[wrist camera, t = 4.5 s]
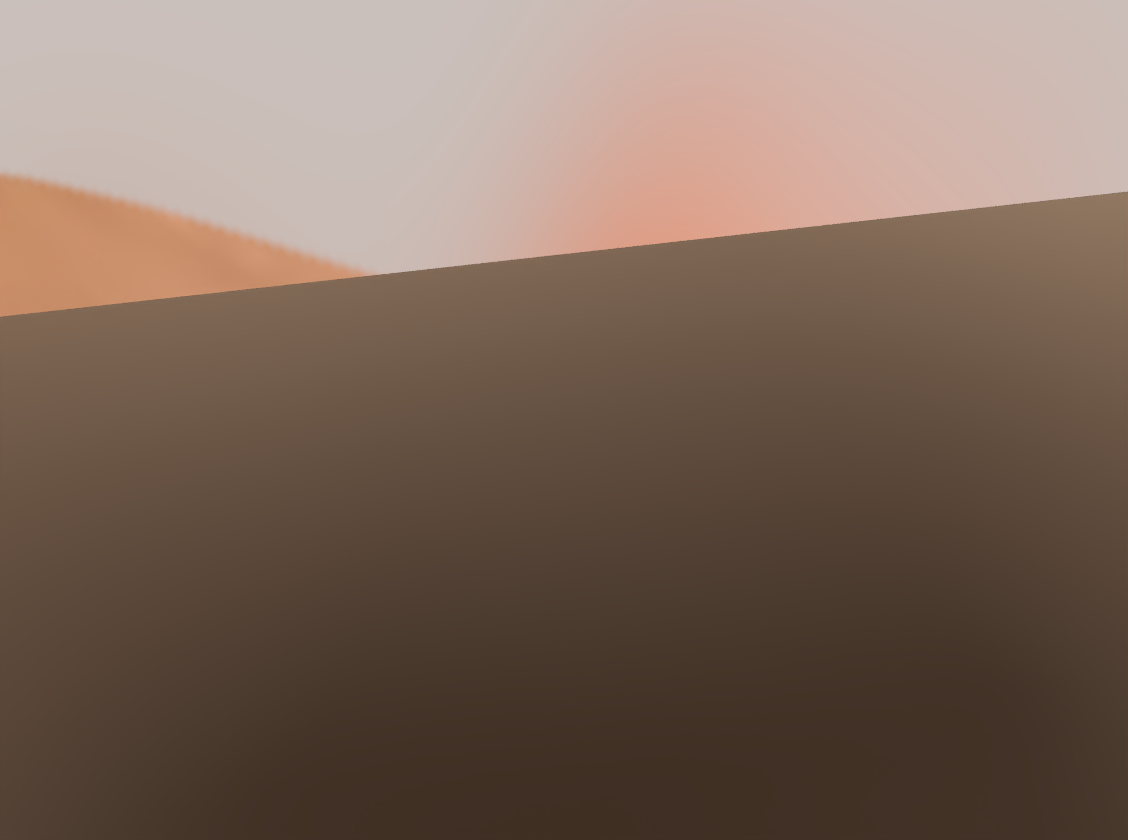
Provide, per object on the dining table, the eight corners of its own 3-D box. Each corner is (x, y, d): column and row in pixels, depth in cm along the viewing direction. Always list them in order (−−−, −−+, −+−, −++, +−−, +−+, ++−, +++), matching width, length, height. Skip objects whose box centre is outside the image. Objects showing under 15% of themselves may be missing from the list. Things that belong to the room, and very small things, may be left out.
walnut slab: (787, 858, 14) (1807, 1142, 2) (435, 905, 14) (-364, 1469, 2) (743, 649, 16) (1242, 180, 4) (425, 690, 15) (-89, 326, 4)
